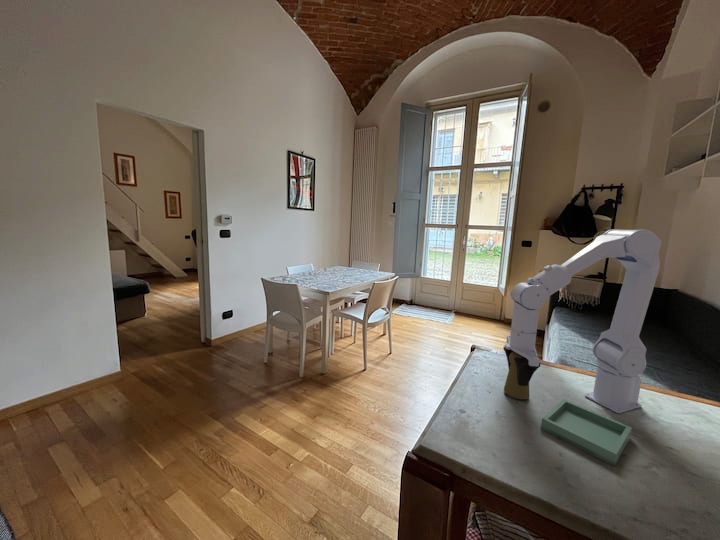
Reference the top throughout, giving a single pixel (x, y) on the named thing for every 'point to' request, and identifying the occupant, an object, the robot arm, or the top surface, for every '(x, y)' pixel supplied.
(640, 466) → the top surface
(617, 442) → the tray
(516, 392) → the cork
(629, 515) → the top surface
